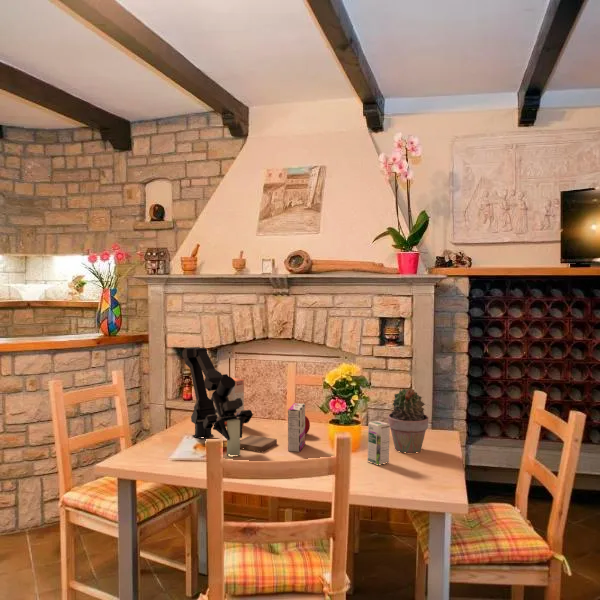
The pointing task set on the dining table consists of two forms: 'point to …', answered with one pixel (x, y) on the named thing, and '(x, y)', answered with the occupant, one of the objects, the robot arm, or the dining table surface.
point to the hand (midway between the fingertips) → (235, 438)
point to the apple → (307, 425)
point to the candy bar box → (296, 427)
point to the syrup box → (378, 442)
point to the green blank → (233, 437)
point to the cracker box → (237, 395)
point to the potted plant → (408, 421)
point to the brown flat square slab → (257, 443)
